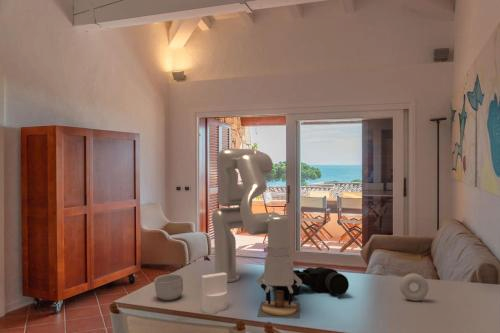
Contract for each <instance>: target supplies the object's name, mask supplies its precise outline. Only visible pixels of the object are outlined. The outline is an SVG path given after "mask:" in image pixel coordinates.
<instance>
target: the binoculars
mask: <svg viewBox="0 0 500 333" xmlns="http://www.w3.org/2000/svg"><path fill="white" fill-rule="evenodd" d="M294 274H295V275H296V276H298V277H299V278H300V279H301V280H302V284H301V285H304V286H310V287H311V288H312V289H314V290H315V291H316V292H317V293H319V294H330V293H331V294H334V295H336V296H342V295H344V294H345V293H346V292H348V289H349V286H350V284H349V280H348V278H347V276H345V274H342V273H340V272H338V271H337V270H335V269H333V268H331V267H330V268H329V267H326V266H325V267H324V266H318V267H308V268H306V269H303V270H302V271H300V270H299V269H297V270H294ZM296 283H297V281H296V280H295V279H294V283H293V285H294V284H296ZM293 285H292V286H293ZM301 285H300V286H299V287H298V288H297V289H296V290H295V291H294V292H293V298H294V297H295V296H298V295H299V294H300V291H301V288H302V287H301ZM270 288H272V291H274V293H275V291H277V290H282V291H284V301H288V291H289V289H288V287H287V286H271V287H270Z"/></svg>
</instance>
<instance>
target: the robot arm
mask: <svg viewBox="0 0 500 333" xmlns="http://www.w3.org/2000/svg"><path fill="white" fill-rule="evenodd" d="M216 167H217V171H218V182H217V193H216V194H217V195H216V197H217V203H218V205H219V206H222V208H217V209H216V210H214V211H213V212H212V213H211V214H212V215H211V222H212V227H213V236H214V237H213V239H214V274H216V273H223V272H224V273H226V274H227V283H234V282H237V281H238V280H240V277H241V276H240V274H239V273H237V255H236V254H237V251H236V249H237V247H236V246H237V245H236V244H237V243H236V242H237V241H236V237H235V235H234V234H233V233H232V231H231V230H234V229H242V228H244V230H245V232H246V233H248V234H249V235H250V236H259V235H267V247H263V252H265V253H267V254H266V255H265V258H264V266H263V267H264V269H263V273H262V274H261V275H260V276H259V277H258V278H257V279H256V283H257V284H258V285H259V286H260V288H261V289H262V290H264V293H265V302H268V304H270V302H271V301H272V300H271V299H272V297H271V296H272V295H271V290H270V289H271V288H272V287H271V286H287V287H288V289H289V291H288V300H287V301H288V305H291V302H292V303H294V301H293V298H294V297H293V292H294V291H295V290H296V289H297V288H298V287H299V286H301V285H303V284H302V280H301V279H300V278H299V277H298V276H296V275H295V274H294V260H293V255H292V254H291V250H290V249H291V247H290V245H291V243H290V242H291V241H290V239H291V238H290V236H291V235H290V233H291V232H290V218H289V216H287V215H283V214H280V213H278V212H272V211H271V212H259V213H258V212H257V213H253V210H252V208H253V207H252V206H253V200H254V199H256V198H258V197H260V196H261V195H262V194H264V193H265V192H266V191H267V185H268V184H267V183H266V180H265V178H264V176H265V175H269V174H271V173H272V171H273V167H274V163H273V160H272V159H271V157H270V156H269V154H267V153H266V152H263V151H260V150H258V149H255V148H254V149H253V148H252V149H251V148H226V149H221V150H220V151H219V152H218V154H217V157H216ZM237 170H238V171H237ZM238 173H239V175H238ZM239 176H240V180H241V182H242V183H240V184H239V182H238V181H239ZM233 206H234V207H233ZM294 279H295V280H296V281H297V283H296V284H294V285H293V283H294ZM292 285H293V286H292Z"/></svg>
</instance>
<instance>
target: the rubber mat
mask: <svg viewBox="0 0 500 333" xmlns="http://www.w3.org/2000/svg"><path fill="white" fill-rule="evenodd" d="M266 302H267V301H261V302H260V305H259V309H258V313H257V316H256V317H257V318H275V319H277V318H278V319H299V320H300V319H301V303H300V302H293V303H294V304H296V305H297V312H296V313H295V314H292V315H289V316H272V315H268V314H266V313H264V312H263V311H262V305H263V304H264V303H266Z"/></svg>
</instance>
